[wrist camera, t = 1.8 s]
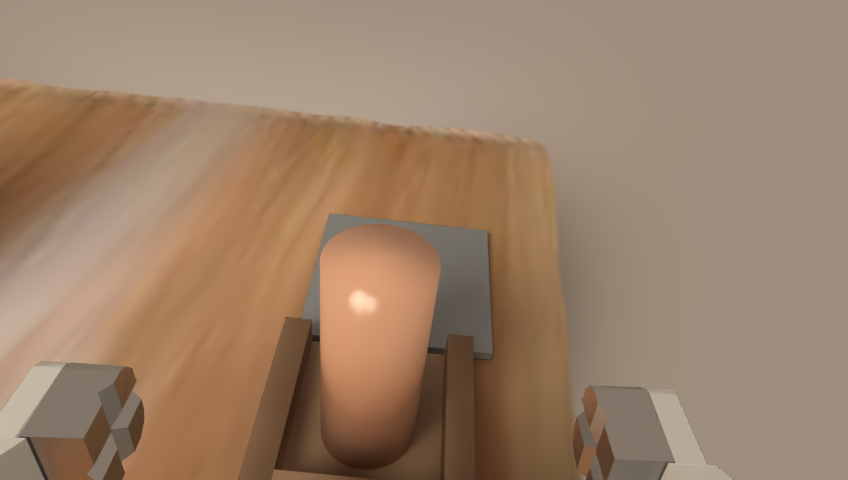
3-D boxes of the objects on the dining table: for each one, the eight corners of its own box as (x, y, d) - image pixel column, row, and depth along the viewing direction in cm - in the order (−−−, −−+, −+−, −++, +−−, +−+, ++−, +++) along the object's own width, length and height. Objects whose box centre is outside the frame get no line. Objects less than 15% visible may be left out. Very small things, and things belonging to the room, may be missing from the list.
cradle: (237, 523, 30) (232, 496, 28) (287, 345, 38) (285, 317, 37) (468, 545, 30) (476, 520, 29) (467, 363, 39) (473, 336, 37)
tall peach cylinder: (312, 464, 32) (309, 297, 24) (336, 343, 38) (340, 179, 30) (411, 474, 32) (439, 311, 24) (419, 352, 38) (444, 191, 30)
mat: (297, 339, 39) (297, 333, 38) (329, 219, 48) (329, 213, 48) (491, 359, 39) (492, 353, 39) (485, 236, 48) (487, 230, 48)
